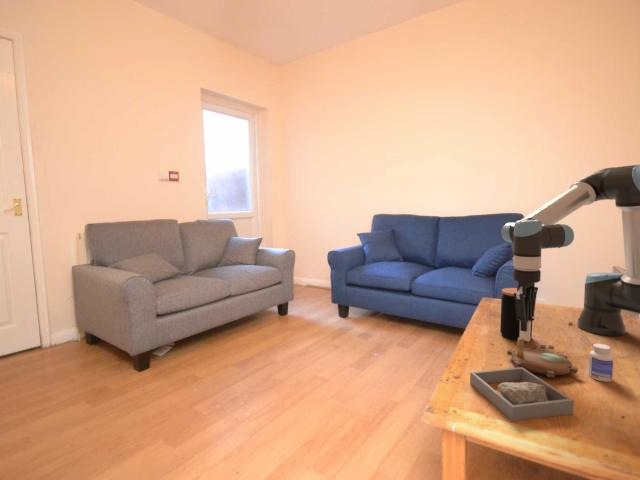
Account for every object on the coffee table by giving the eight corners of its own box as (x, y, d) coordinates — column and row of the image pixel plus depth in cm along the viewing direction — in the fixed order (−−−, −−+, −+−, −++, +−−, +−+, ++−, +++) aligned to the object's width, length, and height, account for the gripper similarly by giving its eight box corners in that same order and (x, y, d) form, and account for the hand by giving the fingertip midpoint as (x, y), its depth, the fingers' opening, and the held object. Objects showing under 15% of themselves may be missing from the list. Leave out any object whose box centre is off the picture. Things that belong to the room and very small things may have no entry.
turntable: (503, 347, 120) (504, 327, 119) (560, 352, 115) (561, 332, 114) (517, 373, 102) (518, 350, 101) (585, 380, 97) (587, 356, 97)
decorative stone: (532, 419, 83) (533, 400, 83) (490, 398, 93) (491, 380, 92) (557, 403, 90) (559, 385, 89) (516, 385, 99) (517, 368, 98)
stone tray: (521, 378, 102) (522, 367, 102) (573, 413, 85) (573, 400, 85) (470, 383, 100) (470, 372, 100) (512, 421, 83) (512, 407, 82)
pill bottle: (616, 383, 99) (618, 350, 98) (595, 381, 100) (597, 349, 99) (605, 373, 104) (607, 343, 103) (584, 372, 105) (586, 341, 104)
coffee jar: (529, 333, 137) (531, 289, 135) (533, 343, 127) (535, 295, 125) (499, 329, 141) (501, 286, 139) (500, 339, 131) (502, 293, 129)
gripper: (522, 264, 116) (520, 331, 119) (505, 270, 108) (503, 341, 111) (547, 267, 110) (545, 337, 113) (531, 273, 102) (529, 349, 105)
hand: (524, 339), depth 112 cm, fingers closed
